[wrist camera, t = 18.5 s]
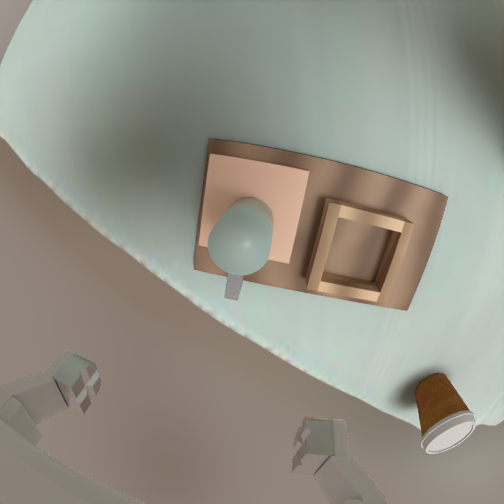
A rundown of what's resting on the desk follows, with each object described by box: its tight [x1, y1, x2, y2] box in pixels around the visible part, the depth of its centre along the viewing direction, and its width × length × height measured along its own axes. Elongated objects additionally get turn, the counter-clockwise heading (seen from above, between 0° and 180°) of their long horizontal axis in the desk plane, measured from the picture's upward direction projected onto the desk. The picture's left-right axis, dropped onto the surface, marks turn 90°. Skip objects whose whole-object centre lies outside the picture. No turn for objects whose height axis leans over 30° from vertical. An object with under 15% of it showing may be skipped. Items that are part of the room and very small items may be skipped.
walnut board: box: [194, 139, 448, 311], centre depth 29 cm, size 27×15×4 cm, turn 81°
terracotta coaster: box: [199, 153, 309, 264], centre depth 30 cm, size 10×10×1 cm
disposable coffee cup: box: [415, 374, 476, 454], centre depth 32 cm, size 10×10×12 cm
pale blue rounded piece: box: [208, 197, 274, 300], centre depth 27 cm, size 8×5×8 cm, turn 170°
